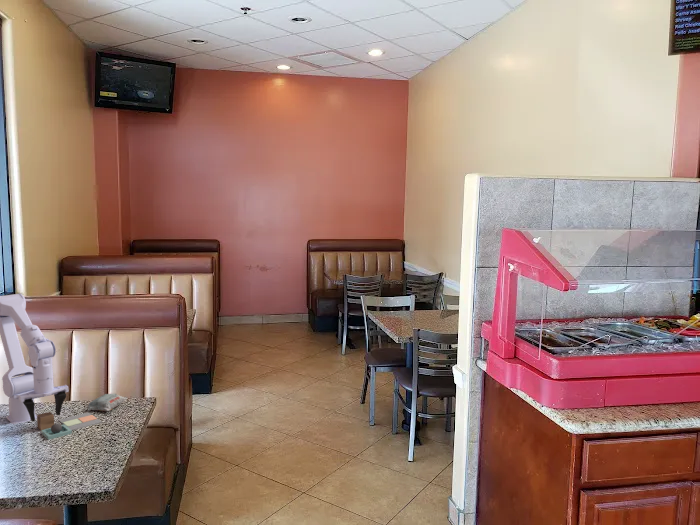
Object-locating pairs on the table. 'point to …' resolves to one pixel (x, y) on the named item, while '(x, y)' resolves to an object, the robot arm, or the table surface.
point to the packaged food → (106, 402)
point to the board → (80, 421)
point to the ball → (56, 428)
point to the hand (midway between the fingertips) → (45, 417)
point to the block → (45, 420)
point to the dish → (63, 432)
